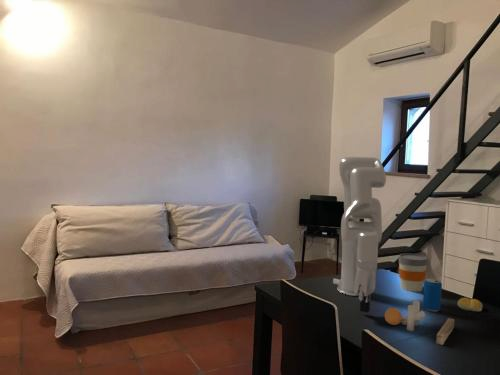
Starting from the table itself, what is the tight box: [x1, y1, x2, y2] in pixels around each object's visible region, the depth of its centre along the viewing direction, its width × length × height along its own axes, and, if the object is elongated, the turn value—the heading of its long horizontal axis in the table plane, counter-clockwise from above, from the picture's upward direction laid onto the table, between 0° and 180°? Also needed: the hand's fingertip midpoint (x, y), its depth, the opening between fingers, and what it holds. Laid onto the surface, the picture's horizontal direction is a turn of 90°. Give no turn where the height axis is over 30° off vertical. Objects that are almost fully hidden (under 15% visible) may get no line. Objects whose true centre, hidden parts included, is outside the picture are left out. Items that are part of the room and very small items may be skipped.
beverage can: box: [422, 277, 443, 313], centre depth 173 cm, size 6×6×12 cm
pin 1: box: [406, 304, 415, 332], centre depth 153 cm, size 2×2×8 cm
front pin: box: [400, 310, 427, 326], centre depth 155 cm, size 2×2×8 cm
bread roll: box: [457, 297, 483, 312], centre depth 176 cm, size 8×9×4 cm
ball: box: [384, 307, 403, 326], centre depth 157 cm, size 6×6×6 cm
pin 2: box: [412, 300, 421, 327], centre depth 158 cm, size 2×2×8 cm
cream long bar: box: [435, 317, 455, 346], centre depth 149 cm, size 2×18×3 cm, turn 144°
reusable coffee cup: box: [398, 252, 428, 293], centre depth 199 cm, size 13×13×15 cm
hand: (364, 311), depth 166 cm, fingers closed
